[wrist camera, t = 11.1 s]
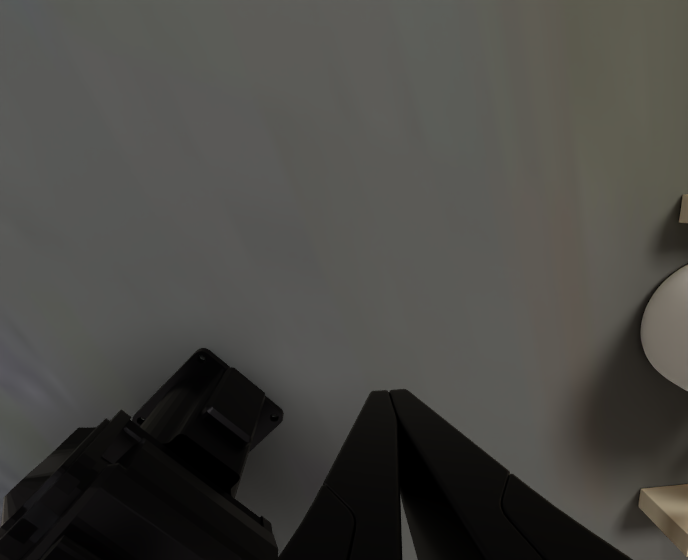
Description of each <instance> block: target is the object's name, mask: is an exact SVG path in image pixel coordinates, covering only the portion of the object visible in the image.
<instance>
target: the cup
mask: <svg viewBox="0 0 688 560" xmlns="http://www.w3.org/2000/svg"><path fill="white" fill-rule="evenodd" d="M641 342H642V346H643V349H644V352H645V354H646V357H647V358H648V360H649V362H650V363H651V364H652V366H653V367H654V368H655V369H656V370H657V371H658V372H659V373H660V374H661V375H663V376H664V377H665V378H666V379H668V380H669V381H671V382H672V383H674V384H676V385H677V386H679V387H681V388H682V389H684V390H686V391H688V265H686V266H684V267H682V268H680V269H679V270H677V271H676V272H674V273H673V274H672V275H671V276H669V277H668V278H667V279H666V280H665V281H664V282H663V283H662V284H661V285H660V286H659V287H658V289H657V290H656V291H655V293H654V294H653V296H652V297H651V299H650V301H649V302H648V304H647V307H646V309H645V311H644V314H643V318H642V322H641Z"/></svg>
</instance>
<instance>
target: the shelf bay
mask: <svg viewBox="0 0 688 560" xmlns="http://www.w3.org/2000/svg"><path fill="white" fill-rule="evenodd" d="M679 222H680V223H688V194H685V195H683V198H682V205H681V211H680V218H679ZM638 507H639V508H640V509H641V510H642V511H643V512H644V513H645V514H646V515H647V516H648V517H649V518H650V519H651V520H652V521H653V522H654V523H655V525H656V526H657V527H658V528H659V529H660V530H661V531H662V532H663V533H664V534H665V535H666V536H667V537H668V538H669V539H670V540H671V541H672V542H673V543H674V544H675V545H676V546H677V547H678V549H679V550H680V551H681V552H682V553H683V554H684V555H685V556H686V557H688V484H682V485H673V486H663V487H653V488H644V489H641V491H640V498H639V505H638Z"/></svg>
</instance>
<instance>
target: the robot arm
mask: <svg viewBox="0 0 688 560" xmlns="http://www.w3.org/2000/svg"><path fill="white" fill-rule="evenodd" d="M199 355H203V356H205V358H206V360H202V359H201V358H200V356H199ZM272 414H276V415H278V417H272ZM283 414H284V413H283V411H282V409H281V408H280V407H278V406H277V405H276V404H275V403H273V402H272V401H271V400H270V399H269V398H267V397H266V396H265V393H264V392H263V391H262V390H261V389H259V388H258V387H257V386H256V385H254V384H253V383H252V382H251V381H250V380H248V379H247V378H246V377H245V376H243V375H242V374H241V373H240V372H239V371H237V370H236V369H235V368H232V367H229V366H228V365H227V364H226V363H224V362H223V361H222V360H221V359H220V358H218V357H217V356H216V355H215V354H213V353H212V352H211V351H210V350H208V349H206V348H201V349H199V350H197V351H196V352H195V353H194V354H193V355H192V356H191V357H190V358H189V359H188V360H187V361H186V362H185V363H184V365H183V366H182V367H181V368H180V369H179V370H178V371H177V372H176V373H175V374H174V375H173V376H172V377H171V378H170V379H169V380H168V381H167V382H166V383H165V384H164V385H163V386H162V387H161V388H160V389H159V390H158V391H157V392H156V393H155V394H154V395H153V396H152V397H151V398H150V399H149V401H148V402H147V403H146V404H145V405H144V406H143V407H142V408H141V409H140V410H139V411H138V412H137V413H136V414H135V415H134V417H133V420H132V421H131V420H130V418H131V416H129V415H128V414H127V413H125V412H124V411H123V410H120V411H119V412H118V413H117V414H116V415H115V416H114V417H113V418H112V419H111V420H110V421H109V420H108V419H107V418H106V419H105V420H104V421H103V422H102V423H101V424H100V425H99V426H97V427H96V428H78V429H77V430H76V431H75V432H74V433H73V434H71V435H70V436H69V437H68V438H67V439H66V440H65V441H64V442H63V443H62V444H61V445H60V446H59V447H58V448H57V449H56V450H55V451H54V452H53V453H52V454H51V455H49V456H48V457H47V458H46V459H45V460H44V461H43V462H42V463H40V464H39V465H38V466H37V467H36V468H35V469H34V470H33V471H31V472H30V473H29V474H28V475H27V476H26V477H25V478H24V479H22V480H21V481H20V482H19V483H18V484H17V485H16V486H15V487H14V488H13V489H12V490H11V491H10V492H9V493H8V494H7V495H6V496H5V497H4V503H3V513H2V522H1V526H0V560H402V536H401V505H400V495H401V499H402V503H403V507H404V511H405V514H406V518H407V522H408V525H409V529H410V533H411V536H412V540H413V544H414V547H415V551H416V554H417V558H418V560H633V559H631V558H630V557H628V556H627V555H625V554H624V553H622V552H621V551H619V550H618V549H616V548H615V547H613V546H612V545H610V544H609V543H607V542H606V541H604V540H603V539H601V538H600V537H599V536H597V535H596V534H594V533H593V532H591V531H590V530H588V529H587V528H585V527H584V526H582V525H581V524H579V523H578V522H577V521H575V520H574V519H572V518H571V517H569V516H568V515H567V514H565V513H564V512H562V511H561V510H559V509H558V508H557V507H555V506H554V505H552V504H551V503H550V502H548V501H547V500H546V499H545V498H543V497H542V496H541V495H539V494H538V493H537V492H535V491H534V490H533V489H531V488H530V487H529V486H527V485H526V484H525V483H524V482H522V481H521V480H520V479H519V478H517V477H516V476H515V475H514V474H510V472H509V471H508V470H507V469H506V468H505V467H503V466H502V465H501V464H500V463H498V462H497V461H496V460H495V459H493V458H492V457H491V456H490V455H488V454H487V453H486V452H485V451H483V450H482V449H481V448H480V447H478V446H477V445H476V444H475V443H473V442H472V441H471V440H470V439H468V438H467V437H466V436H465V435H463V434H462V433H461V432H460V431H458V430H457V429H456V428H455V427H453V426H452V425H451V424H449V423H448V422H447V421H446V420H444V419H443V418H442V417H441V416H439V415H438V414H437V413H436V412H434V411H433V410H432V409H431V408H429V407H428V406H427V405H426V404H424V403H423V402H422V401H421V400H419V399H418V398H417V397H416V396H414V395H413V394H412V393H411V392H409V391H408V390H406V389H398V390H391V391H390V392H388V391H386V390H382V391H372V392H371V393H370V394H369V396H368V398H367V400H366V402H365V404H364V406H363V408H362V410H361V412H360V414H359V415H358V417H357V419H356V421H355V423H354V425H353V427H352V429H351V431H350V433H349V435H348V437H347V439H346V440H345V442H344V444H343V446H342V448H341V450H340V452H339V454H338V456H337V458H336V460H335V462H334V464H333V466H332V467H331V469H330V471H329V473H328V475H327V477H326V479H325V481H324V483H323V486H321V488H320V490H319V492H318V494H317V496H316V498H315V500H314V502H313V503H312V505H311V507H310V509H309V510H308V512H307V514H306V516H305V517H304V519H303V521H302V523H301V524H300V526H299V527H298V529H297V530H296V532H295V533H294V535H293V536H292V538H291V539H290V541H289V542H288V544H287V545H286V547H285V548H284V550H283V551H282V553H281V554H280V556H279V557H278V547H277V544H276V541H275V538H274V535H273V534H272V527H271V523H270V522H269V521H268V520H266V519H265V518H264V517H262V516H261V517H258V516H257V515H256V514H254V513H253V512H252V511H250V510H249V509H248V508H246V507H245V506H244V505H242V504H241V503H240V502H238V501H237V500H236V499H234V498H235V495H236V492H237V488H238V485H239V482H240V479H241V475H242V472H243V469H244V466H245V462H246V459H247V456H248V453H249V452H250V451H251V450H252V449H253V448H254V447H255V446H256V445H257V444H258V443H260V442H261V441H262V440H263V439H264V438H265V437H266V436H267V435H268V434H269V433H270V432H271V431H272V430H273V429H275V428H276V427H277V426H278V425H279V424H280V423H281V422H282V419H283ZM140 417H142V418H144V419H145V420H142V419H141V418H140Z"/></svg>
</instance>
